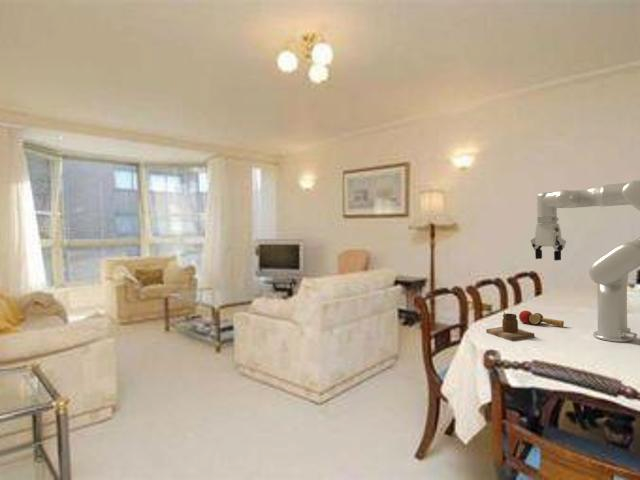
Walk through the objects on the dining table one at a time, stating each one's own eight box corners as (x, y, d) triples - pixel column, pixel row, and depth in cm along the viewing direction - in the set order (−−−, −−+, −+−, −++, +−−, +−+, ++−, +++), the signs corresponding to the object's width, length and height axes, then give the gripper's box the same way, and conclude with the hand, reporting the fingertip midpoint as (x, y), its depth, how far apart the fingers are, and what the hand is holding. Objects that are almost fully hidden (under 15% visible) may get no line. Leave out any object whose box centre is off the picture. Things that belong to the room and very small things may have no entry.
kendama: (564, 328, 182) (521, 318, 193) (565, 315, 180) (522, 305, 192) (560, 334, 176) (516, 324, 188) (562, 321, 175) (517, 311, 186)
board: (534, 337, 165) (534, 333, 165) (511, 340, 161) (511, 337, 161) (508, 329, 179) (508, 325, 178) (486, 332, 175) (486, 329, 175)
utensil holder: (518, 333, 166) (518, 304, 166) (502, 332, 168) (501, 304, 168) (517, 329, 172) (516, 301, 171) (501, 329, 174) (500, 301, 173)
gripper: (571, 219, 170) (572, 260, 170) (537, 220, 186) (538, 257, 187) (557, 220, 167) (558, 261, 168) (524, 221, 184) (525, 258, 184)
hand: (547, 259), depth 177 cm, fingers open, 9 cm apart
